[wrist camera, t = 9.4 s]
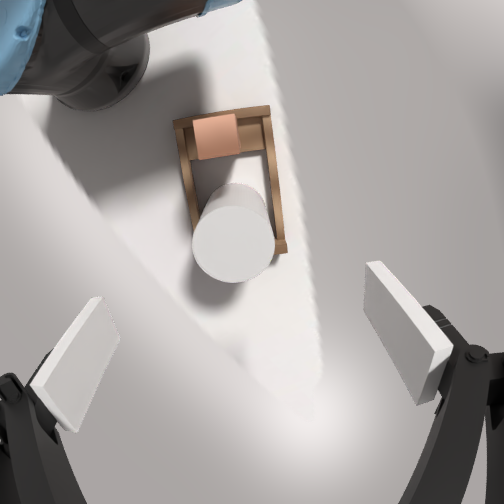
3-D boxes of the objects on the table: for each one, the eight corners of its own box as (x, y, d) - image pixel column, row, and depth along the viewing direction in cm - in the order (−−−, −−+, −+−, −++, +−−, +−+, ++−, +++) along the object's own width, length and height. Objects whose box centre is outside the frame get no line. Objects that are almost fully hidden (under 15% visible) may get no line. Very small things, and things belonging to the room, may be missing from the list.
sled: (175, 120, 35) (145, 118, 24) (268, 106, 35) (280, 95, 23) (200, 255, 43) (186, 303, 31) (284, 243, 42) (300, 289, 31)
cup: (222, 249, 43) (216, 294, 32) (195, 199, 40) (177, 228, 29) (275, 225, 42) (287, 263, 31) (249, 172, 39) (252, 191, 28)
